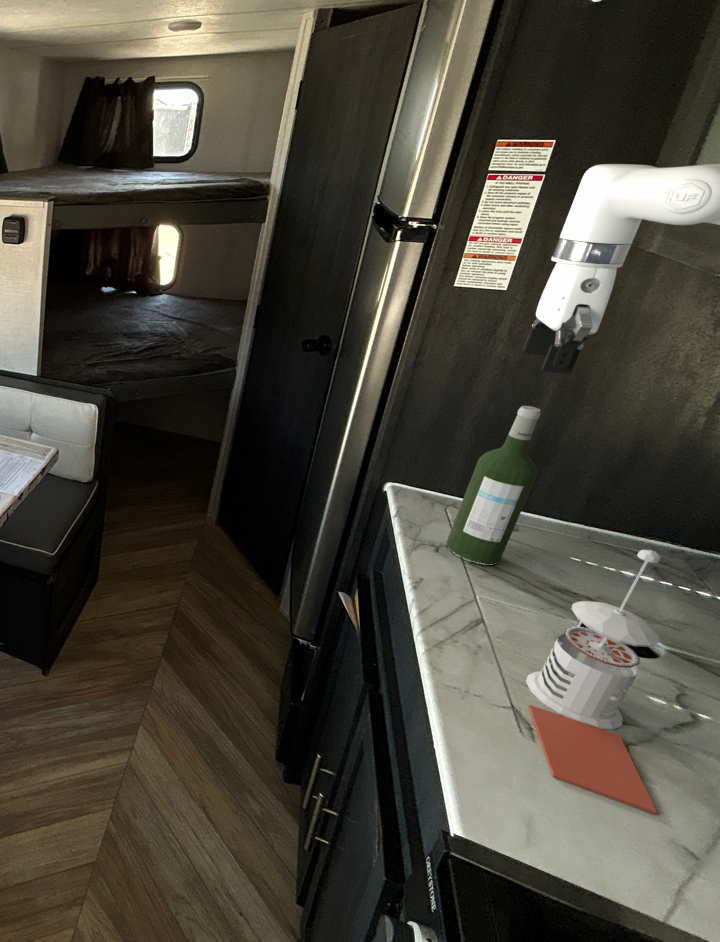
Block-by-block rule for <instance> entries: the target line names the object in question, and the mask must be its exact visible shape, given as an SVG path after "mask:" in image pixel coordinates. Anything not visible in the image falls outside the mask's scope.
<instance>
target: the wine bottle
mask: <svg viewBox="0 0 720 942" xmlns="http://www.w3.org/2000/svg"><path fill="white" fill-rule="evenodd" d="M516 414H517V415H516V416H515V419H514V421H513V424H512V426H511V428H510V430H509V432H508V434H507V437H506V439H505V441H504V443H503V445H502V446H501V447H499V448H495V449H492V450H489V451H486V452H484V454H482V455H480V457H479V458H478V460H477V461H476V465H475V467H474V470H473V472H472V475H471V478H470V479H469V483H468V484H467V485H468V486H467V488H466V491H465V493H464V496H463V498H462V501H461V503H460V506H459V509H458V512H457V514H456V517H455V519H454V522H453V524H452V527H451V529H450V531H449V534H448V537H447V540H446V543H447V545H446V547H447V546H448V547H449V548H450V550H452V551H453V552H455V553H456V554H458V555H460V556H462V557H464V558H466V559H469V560H471V561H475V562H479V563H480V562H481V563H485V564H495V563H498V562H499V563H500V561H501V560H502V557H503V554H504V553H505V550H506V547H507V545H508V543H509V541H510V539H511V536H512V535H513V531H514V529H515V527H516V525H517V522H518V520H519V517H520V516H521V513H522V511H523V509H524V506H525V504H526V501H527V500H528V497H529V494H530V492H531V490H532V488H533V485H534V483H535V480H536V478H537V475H538V468H537V467H536V464H535V463H534V461H533V460H532V459H531V458H530V457H529V456H528V452H527V451H528V447H529V444H530V442H531V439H532V436H533V433H534V430H535V428H536V425H537V422H538V420H539V419H540V416H541V409H540V408H538V407H535V406H530V405H521V406H520V407H519V409H518V410H517V413H516ZM464 561H465V562H467V561H466V560H464ZM469 563H470V564H472V563H471V562H469ZM499 563H498V564H499ZM476 565H478V564H476ZM478 566H479V565H478ZM483 566H485V565H482V567H483ZM485 567H486V566H485Z"/></svg>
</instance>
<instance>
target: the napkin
mask: <svg viewBox="0 0 720 942" xmlns="http://www.w3.org/2000/svg"><path fill="white" fill-rule="evenodd" d="M528 709H529V713H530V716H531V719H532V722H533V724H534V727H535V731H536V733H537V736H538V738H539V739H538V740H539V741H540V744H541V748H542V750H543V753H544V756H545V759H546V762H547V764H548V767H549V770H550V774H551V777H553V778H555V779H558V780H561V781H563V782H566V783H569V784H571V785H574V786H577V787H579V788H582V789H585V790H588V791H590V792H594V793H595V794H599V795H601V796H604V797H606V798H609V799H612V800H615V801H617V802H620V803H623V804H626V805H629V806H632V807H634V808H637V809H639V810H642V811H645V812H646V813H647V812H648V813H650V814H653V815H657V814H658V811H657V809H656V807H655V804H654V802H653V801H652V798H651V797H650V795H649V792H648V790H647V788H646V786H645V784H644V782H643V779H642V778H641V776H640V774H639V771H638V770H637V768H636V766H635V763H634V761H633V760H632V757H631V755H630V753H629V752H628V749H627V747H626V745H625V743H624V741H623V738H622V736H621V735H620V734H619V733H615V732H612V731H610V730H608V729H601V728H598V727H595V726H592V725H589V724H586V723H583V722H580V721H577V720H574V719H571V718H568V717H565V716H563V715H560V714H559V713H556V712H553V711H550V710H547V709H543V708H540V707H537V706H534V705H532V704H528Z"/></svg>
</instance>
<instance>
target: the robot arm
mask: <svg viewBox="0 0 720 942" xmlns="http://www.w3.org/2000/svg"><path fill="white" fill-rule="evenodd" d="M642 220H644V221H650V222H655V223H660V224H666V225H674V226H692V225H697V224H702V223H704V224H705V223H706V224H712V225H718V226H720V163H710V164H709V163H707V164H699V165H697V164H696V165H686V166H674V167H672V166H671V167H656V166H653V165H648V164H633V163H631V164H630V163H603V164H602V163H601V164H596V165H593V166H591V167H590V168H588V169H587V170H586V171H585V173H584V174H583V176H582V178H581V180H580V183H579V186H578V188H577V191H576V194H575V196H574V198H573V202H572V204H571V206H570V209H569V212H568V214H567V217H566V218H565V222H564V224H563V227H562V230H561V231H560V235H559V237H558V240H557V242H556V245H555V248H554V250H553V253H552V256H551V259H550V260H551V261H552V262H556V263H555V265H554V267H553V269H552V270H551V273H550V275H549V278H548V280H547V281H546V285H545V287H544V289H543V291H542V293H541V296H540V298H539V302H538V304H537V307H536V311H535V317H536V319H535V320H534V321H533V323H532V324H531V328H530V331H529V333H528V335H527V338H526V341H525V344H524V345H523V349H522V352H523V353H524V354H528V355H536V356H543V357H545V359H544V361H543V364H542V366H541V370H542V371H543V372H548V373H555V374H563V375H570V374H571V373H572V372H573V369H574V367H575V364H576V362H577V359H578V358H579V355H580V353H581V350H582V349H583V348H584V344H585V342H586V341H587V340H588V335H589V336H590V335H591V336H592V335H594V334H596V333H597V332H598V330H599V328H600V325H601V322H602V320H603V317H604V314H605V312H606V309H607V307H608V306H607V305H608V303H609V300H610V297H611V294H612V291H613V288H614V284H615V281H616V276H617V272H618V271H617V270H618V269H619V268H622V267H623V265H624V263H625V261H626V258H627V257H628V256H627V255H628V253H629V251H630V249H631V246H632V244H633V241H634V239H635V237H636V234H637V232H638V229H639V227H640V224H641V223H642ZM566 334H567V335H566Z"/></svg>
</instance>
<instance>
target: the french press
mask: <svg viewBox="0 0 720 942" xmlns="http://www.w3.org/2000/svg"><path fill="white" fill-rule="evenodd" d="M636 557H638V558H639V559H640V560H642V561H644V562H643V563H642V566H641V568H639V569H640V570H639V571H638V573H637V575H636V577H635V578H634V581H633V582H632V584H631V586H630V588H629V590H628V592H627V594H626V596H625V598H624V600H623V601H622V603H621V605H620V607H619V606H615V605H612V604H609V603H606V602H600V601H592V600H591V601H590V600H589V601H587V600H580V601H576V602H573V603H572V604H571V610H572V613H573V614H574V615H575V617H576V618H577V620H578V621H579V623H578V624H577V626H570V627H568V628H566V629H565V631H564V633H563V634H561V635H559V636H558V637H557V638H556V640H555V642H554V646H552V648H551V650H550V652H549V654H548V656H547V660H546V661H545V662H544V664H543V666H542V668H541V670H540V671H535V672H531V673H529V674H528V675H527V677H526V680H525V683H526V684H527V686H528V688H529V691H530V692H531V693H532V694H533V695H534V696H535V697H536V698H537V699H538V700H539V701H540V702H541V703H542V704H543V705H545V706H546V707H548V708H549V709H551V710H552V711H554V712H555V713H556V714H558V715H562V716H565V717H568V718H571V719H574V720H577V721H580V722H583V723H586V724H589V725H592V726H595V727H598V728H601V729H604V730H616V729H617V728H619V727H621V726H623V715H622V714H621V712H620V710H619V707H620V706H621V704H622V702H623V700H624V698H625V697H626V695H627V693H628V691H630V688H631V686H632V685H633V683H634V681H635V680H636V678H637V676H638V672H639V670H640V669H639V667H638V665H640V660H641V658H640V657H639V655H638V654H637V653H636V651H634V649H632V648H631V647H629V646H633V647H643V648H644V647H645V648H648V647H651V646H653V645H656V644H659V643H660V635H659V634H658V633H657V632H656V631H655V629H654V628H653V627H652V626H651V625H649V624H648V623H647V622H646V621H645V620H643V619H642V618H640V617H638V615H635V614H634V613H633V612H631V611H628V610H626V609H624V607H625V606H626V603H627V601H628V599H629V598H630V596H631V594H632V592H633V591H634V590H635V589H634V588H635V586H636V585H637V584H638V582H639V579H640V578H641V575H642V574H643V572H644V570H645V568H646V567H647V565H648V563H650V564H659V563H660V561H661V556H660V555H659V554H658V553H657V551H655V550H652V549H641V550H639V551H638V553H637V555H636ZM581 625H584V626H585V627H584V626H583V627H582V626H581ZM560 643H561V644H560ZM580 653H582V654H584V655H585V658H584V660H583V662H581V661H580V660H577V658H578V656H579V655H580ZM626 668H629V669H631V672H632V674H633V675H632V674H631V672H630V671H629V670H627V669H626ZM611 669H615V670H617V671H619V672H621V673H622V674H623V675H625V676H621V675H620V674H618V673H616V672H615V671H612V670H611ZM570 673H571V674H573V675H574V676H573V675H570ZM616 690H618V691H619V692H616Z"/></svg>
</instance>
